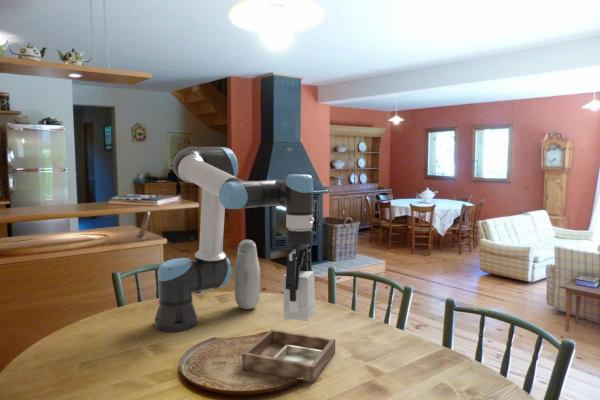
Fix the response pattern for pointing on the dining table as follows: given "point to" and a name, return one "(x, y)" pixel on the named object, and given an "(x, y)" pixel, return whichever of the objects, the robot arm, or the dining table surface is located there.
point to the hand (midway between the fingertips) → (299, 307)
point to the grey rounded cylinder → (247, 275)
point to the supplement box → (301, 297)
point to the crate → (289, 355)
